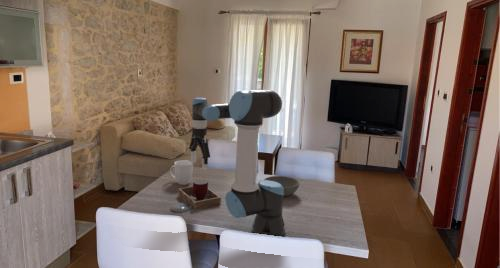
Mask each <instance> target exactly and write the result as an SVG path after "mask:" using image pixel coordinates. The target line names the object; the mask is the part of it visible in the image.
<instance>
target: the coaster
mask: <svg viewBox="0 0 500 268" xmlns="http://www.w3.org/2000/svg"><path fill="white" fill-rule="evenodd" d="M190 209H191V206H190V205H189V204H188V203H186V202H179V203H175V204H172V205H171V206H170V210H171V211H172V212H173V213H185V212H188V211H190Z"/></svg>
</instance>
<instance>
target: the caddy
mask: <svg viewBox="0 0 500 268" xmlns="http://www.w3.org/2000/svg"><path fill="white" fill-rule="evenodd" d="M192 191H193V185H192V186H188V187H186V186H185V187H181V188H178V197H180V198H181V199H182V200H183V201H184V203H186V204H189V205H190V208H192V209H193V210H201V209H205V208H210V207H214V206H220V205H221V204H222V203H221V202H222V201H221V200H222V197H221V196H220V195H219V194H217V193H215V191H213V190H211V189H210V188H209V187H208V189H207V194H206V196H208V197H209V198H208V199H204V200H197V201H195V200H194V199H193V198H192V197H191V196H189V195H190V194H191V195H192Z"/></svg>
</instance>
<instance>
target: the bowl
mask: <svg viewBox="0 0 500 268" xmlns="http://www.w3.org/2000/svg"><path fill="white" fill-rule="evenodd" d="M263 180H269V181H274V182H277V183H280V184H281V185H282V186H283V188H284V195H283V197H286V196H287V197H288V196H291V195H293V194H294V193H296V191H297V190H298V188H299V187H300V182H299V180H297V178H293V177H289V176H284V175H283V176H282V175H276V176H275V175H273V176H268V177H266V178H264V179H263Z"/></svg>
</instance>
